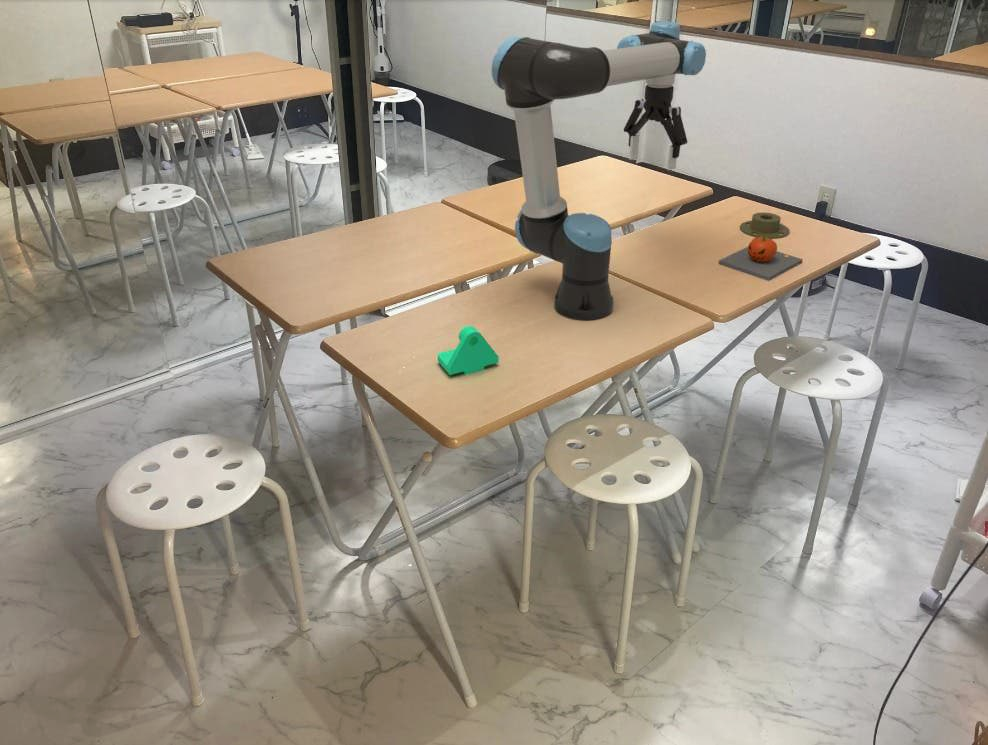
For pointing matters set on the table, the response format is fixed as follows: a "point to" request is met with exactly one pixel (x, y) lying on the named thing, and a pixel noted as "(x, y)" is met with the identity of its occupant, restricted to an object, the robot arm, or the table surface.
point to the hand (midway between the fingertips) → (651, 163)
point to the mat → (760, 264)
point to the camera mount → (468, 353)
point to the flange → (765, 226)
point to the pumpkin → (762, 249)
